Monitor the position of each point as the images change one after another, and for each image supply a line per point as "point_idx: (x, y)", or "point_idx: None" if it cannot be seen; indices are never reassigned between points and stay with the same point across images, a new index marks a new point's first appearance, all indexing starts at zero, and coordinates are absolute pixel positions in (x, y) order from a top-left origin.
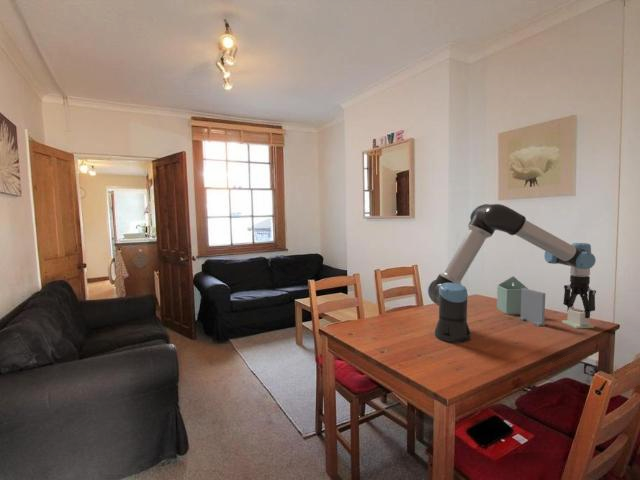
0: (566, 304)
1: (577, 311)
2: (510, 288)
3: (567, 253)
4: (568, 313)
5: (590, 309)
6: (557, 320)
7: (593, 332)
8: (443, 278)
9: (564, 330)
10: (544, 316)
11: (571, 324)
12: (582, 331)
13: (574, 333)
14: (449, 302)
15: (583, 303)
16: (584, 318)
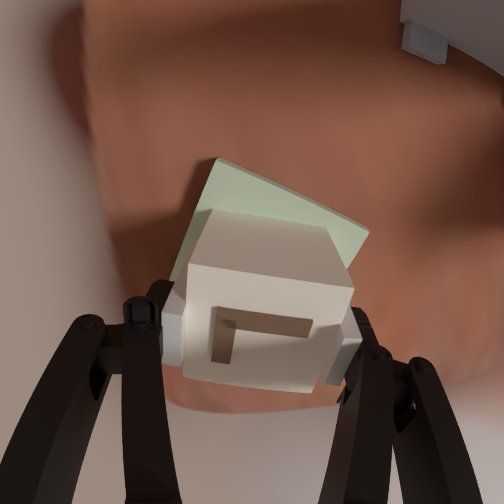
0: (401, 369)
1: (251, 310)
2: None
3: None
4: (335, 263)
5: (81, 329)
6: (402, 246)
7: (107, 179)
8: None
9: (241, 23)
10: (438, 1)
11: (270, 183)
12: (153, 127)
13: (159, 25)
14: None
15: (155, 400)
16: (182, 270)
